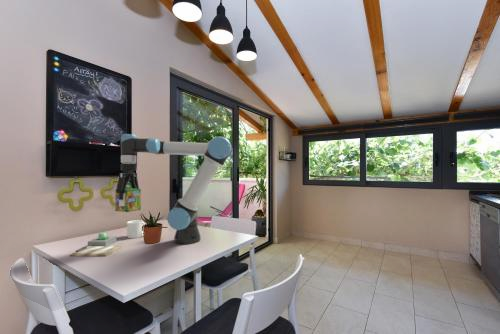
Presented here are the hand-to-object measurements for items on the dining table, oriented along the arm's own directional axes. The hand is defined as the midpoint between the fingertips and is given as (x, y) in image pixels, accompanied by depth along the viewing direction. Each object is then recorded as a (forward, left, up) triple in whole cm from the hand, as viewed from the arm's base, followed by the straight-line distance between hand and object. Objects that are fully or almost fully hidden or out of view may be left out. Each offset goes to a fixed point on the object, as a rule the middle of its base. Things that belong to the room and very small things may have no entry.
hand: (128, 204), depth 132 cm
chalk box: (0, 0, -3) cm, 3 cm away
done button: (+18, -7, -21) cm, 29 cm away
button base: (+18, -7, -23) cm, 30 cm away
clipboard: (+13, +6, -23) cm, 27 cm away
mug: (+6, -23, -24) cm, 33 cm away
